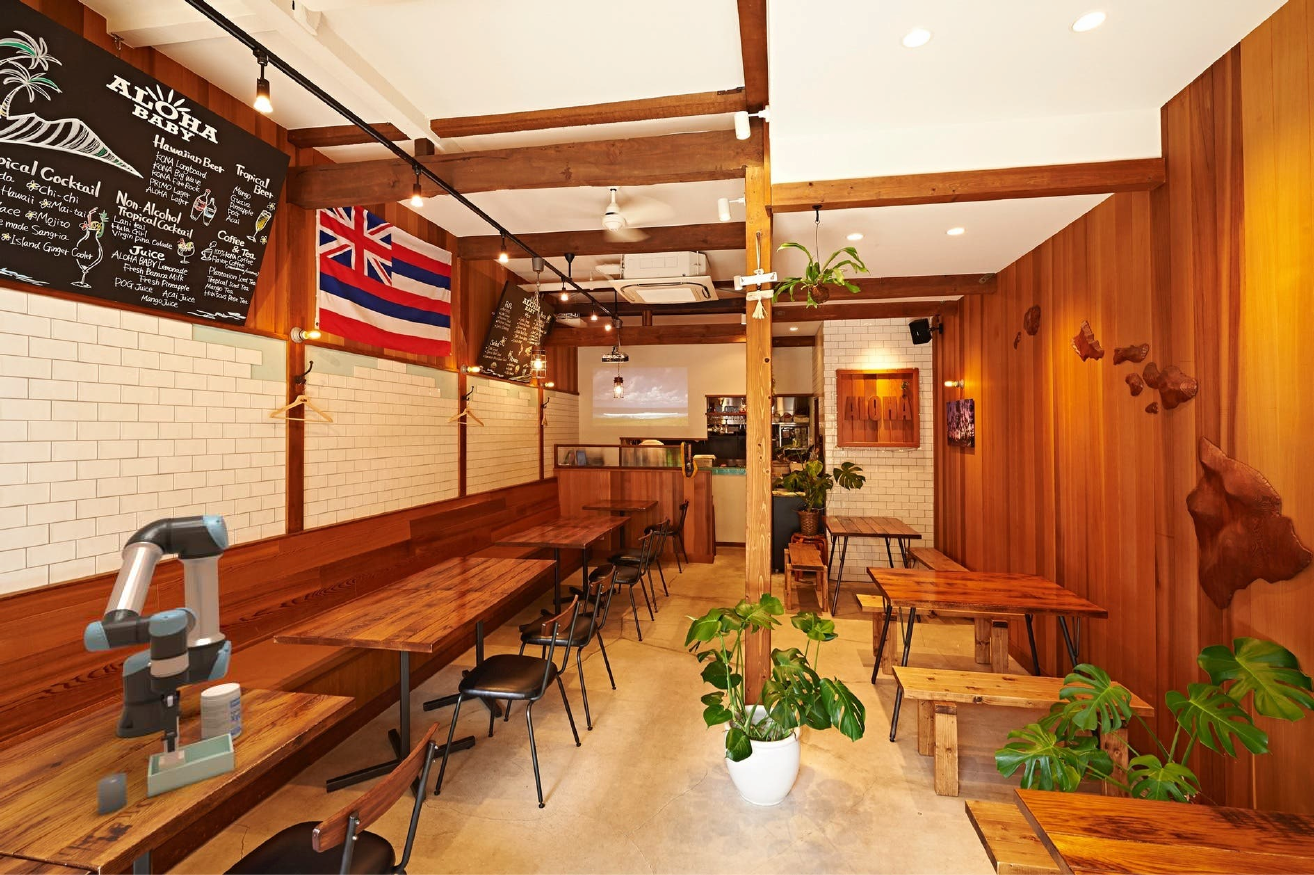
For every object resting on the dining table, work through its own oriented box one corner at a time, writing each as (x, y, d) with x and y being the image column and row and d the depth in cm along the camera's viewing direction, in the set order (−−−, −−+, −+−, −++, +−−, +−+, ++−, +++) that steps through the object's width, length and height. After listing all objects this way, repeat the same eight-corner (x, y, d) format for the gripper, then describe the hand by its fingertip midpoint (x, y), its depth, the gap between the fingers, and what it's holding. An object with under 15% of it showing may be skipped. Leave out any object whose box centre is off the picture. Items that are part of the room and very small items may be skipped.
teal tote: (150, 774, 151) (150, 756, 151) (231, 750, 162) (230, 733, 162) (148, 797, 141) (147, 777, 141) (234, 770, 152) (233, 751, 152)
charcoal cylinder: (99, 807, 138) (98, 778, 138) (127, 798, 141) (126, 770, 141) (97, 817, 134) (96, 787, 134) (126, 808, 137) (125, 779, 137)
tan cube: (160, 776, 150) (159, 757, 150) (184, 768, 153) (184, 750, 153) (159, 784, 146) (158, 765, 146) (184, 776, 149) (183, 757, 149)
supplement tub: (240, 740, 168) (239, 690, 168) (199, 751, 163) (198, 699, 163) (242, 727, 176) (241, 679, 176) (203, 737, 171) (202, 688, 171)
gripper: (152, 662, 157) (154, 739, 156) (148, 691, 137) (150, 779, 137) (188, 655, 161) (190, 730, 161) (188, 682, 142) (191, 767, 142)
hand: (172, 752), depth 149 cm, fingers open, 13 cm apart
